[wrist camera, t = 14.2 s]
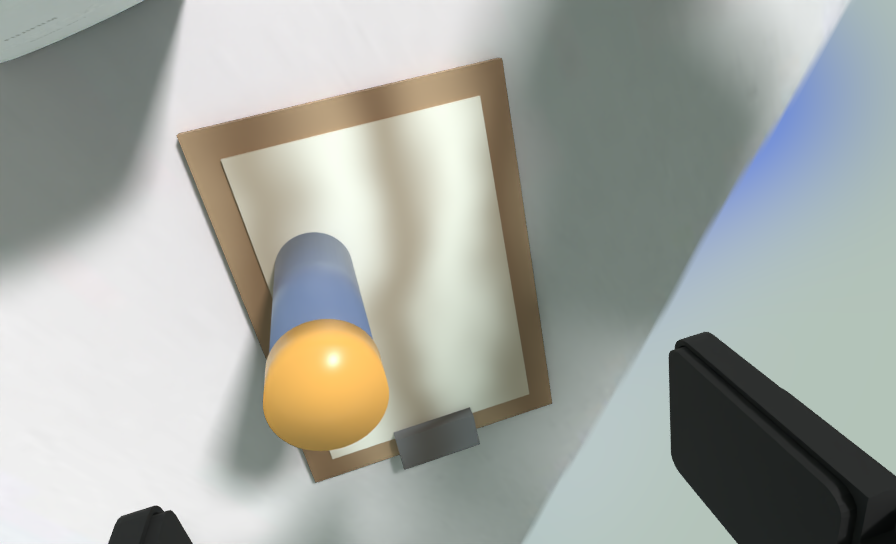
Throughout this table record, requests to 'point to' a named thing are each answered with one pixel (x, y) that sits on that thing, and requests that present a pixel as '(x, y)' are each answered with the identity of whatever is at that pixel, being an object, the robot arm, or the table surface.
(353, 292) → the cylinder
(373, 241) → the clipboard
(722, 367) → the robot arm
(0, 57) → the photo printer
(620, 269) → the table surface
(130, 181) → the table surface
